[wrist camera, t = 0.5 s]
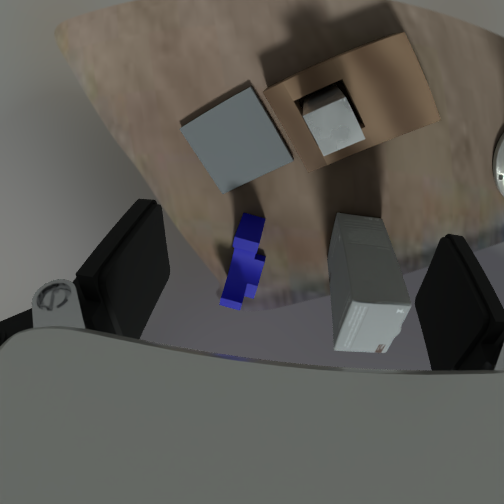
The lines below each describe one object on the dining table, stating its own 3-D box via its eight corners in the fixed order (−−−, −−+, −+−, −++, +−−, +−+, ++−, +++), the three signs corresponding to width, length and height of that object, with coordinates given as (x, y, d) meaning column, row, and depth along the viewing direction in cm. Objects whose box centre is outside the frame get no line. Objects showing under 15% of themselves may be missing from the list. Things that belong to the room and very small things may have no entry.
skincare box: (336, 210, 41) (344, 295, 28) (388, 218, 40) (416, 303, 27) (325, 262, 46) (325, 352, 33) (372, 268, 45) (387, 357, 32)
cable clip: (256, 285, 50) (250, 313, 46) (228, 277, 50) (219, 304, 46) (276, 220, 43) (271, 246, 38) (243, 211, 43) (234, 236, 38)
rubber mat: (251, 86, 33) (250, 87, 33) (293, 158, 38) (293, 160, 37) (181, 127, 37) (179, 128, 37) (224, 191, 42) (222, 194, 41)
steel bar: (335, 84, 31) (345, 97, 23) (351, 115, 33) (365, 138, 25) (304, 98, 33) (302, 116, 25) (320, 128, 35) (323, 156, 27)
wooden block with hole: (394, 33, 26) (404, 32, 23) (428, 112, 31) (440, 120, 28) (267, 87, 33) (262, 92, 30) (308, 160, 37) (308, 173, 34)
